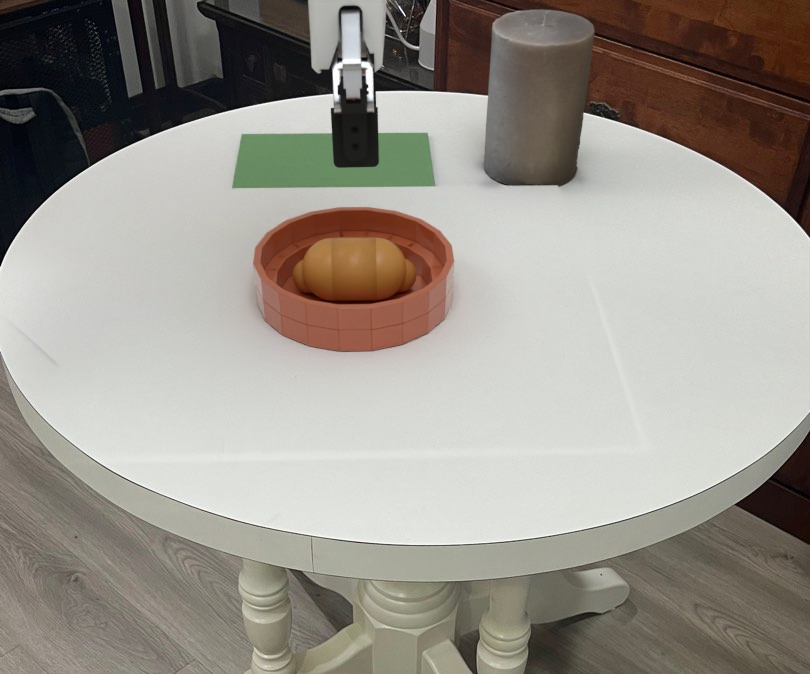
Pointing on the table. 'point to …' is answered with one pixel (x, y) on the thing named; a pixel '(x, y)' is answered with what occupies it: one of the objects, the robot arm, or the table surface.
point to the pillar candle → (537, 96)
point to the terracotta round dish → (358, 319)
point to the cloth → (330, 162)
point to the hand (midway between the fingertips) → (356, 136)
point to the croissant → (354, 269)
